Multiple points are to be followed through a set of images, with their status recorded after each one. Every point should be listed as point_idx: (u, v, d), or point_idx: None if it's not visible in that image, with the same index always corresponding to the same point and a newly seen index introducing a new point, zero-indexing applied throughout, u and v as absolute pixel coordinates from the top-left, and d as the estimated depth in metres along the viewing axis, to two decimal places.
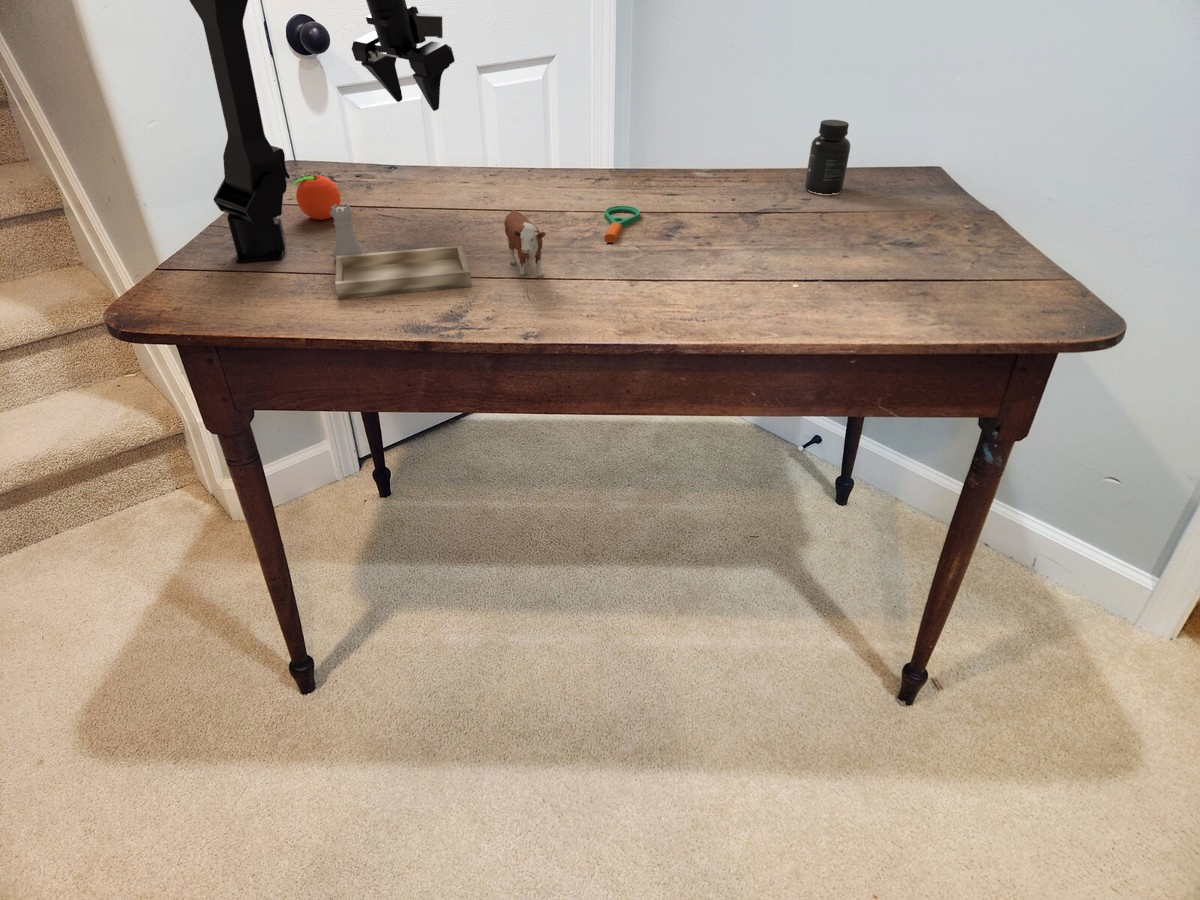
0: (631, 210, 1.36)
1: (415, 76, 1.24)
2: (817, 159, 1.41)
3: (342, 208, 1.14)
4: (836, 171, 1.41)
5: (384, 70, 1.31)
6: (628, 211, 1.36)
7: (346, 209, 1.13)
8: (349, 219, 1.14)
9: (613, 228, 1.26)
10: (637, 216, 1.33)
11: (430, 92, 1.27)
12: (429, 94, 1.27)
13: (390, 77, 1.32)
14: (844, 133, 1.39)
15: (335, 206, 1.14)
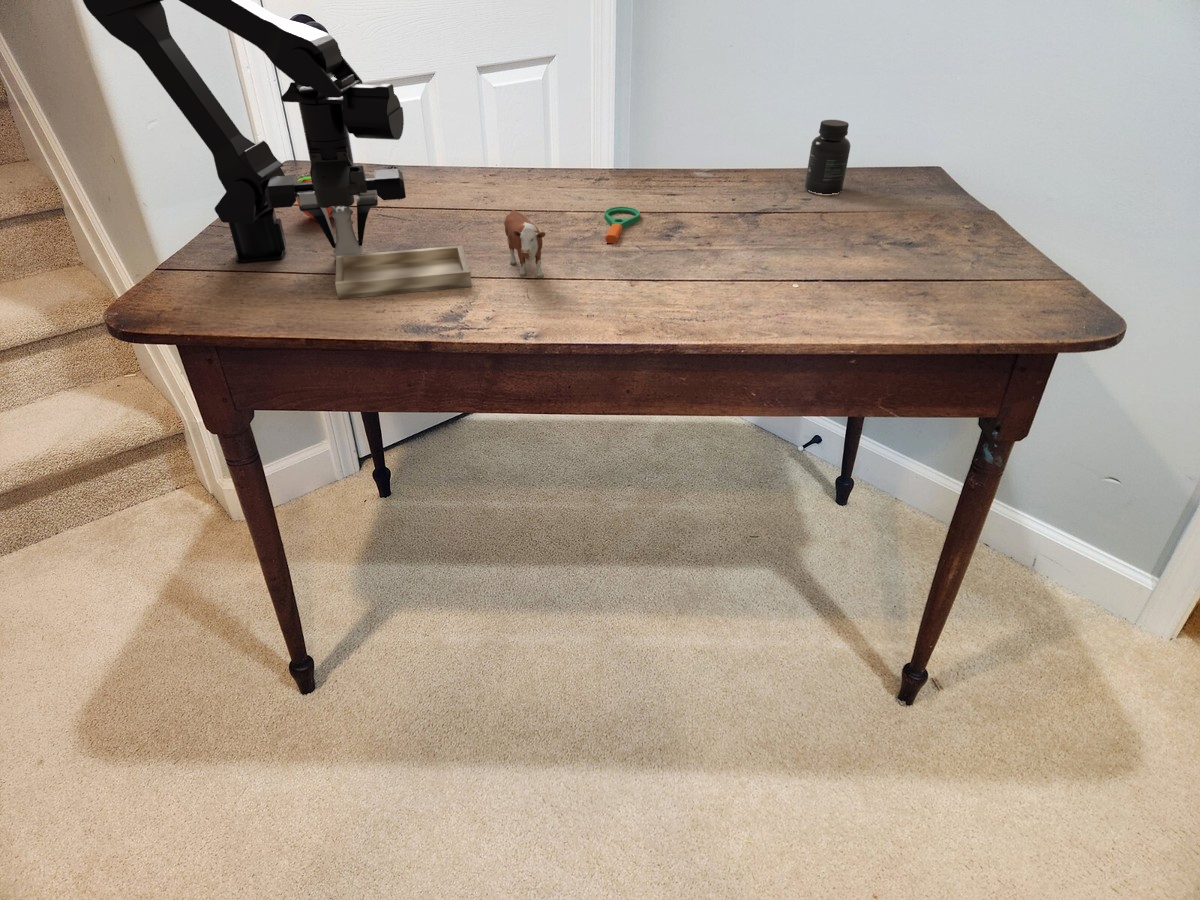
0: (631, 211, 1.35)
1: None
2: (817, 159, 1.41)
3: (342, 208, 1.14)
4: (836, 171, 1.41)
5: None
6: (628, 212, 1.36)
7: (346, 209, 1.13)
8: (349, 219, 1.14)
9: (614, 229, 1.26)
10: (637, 217, 1.32)
11: None
12: None
13: None
14: (844, 133, 1.39)
15: (335, 206, 1.14)
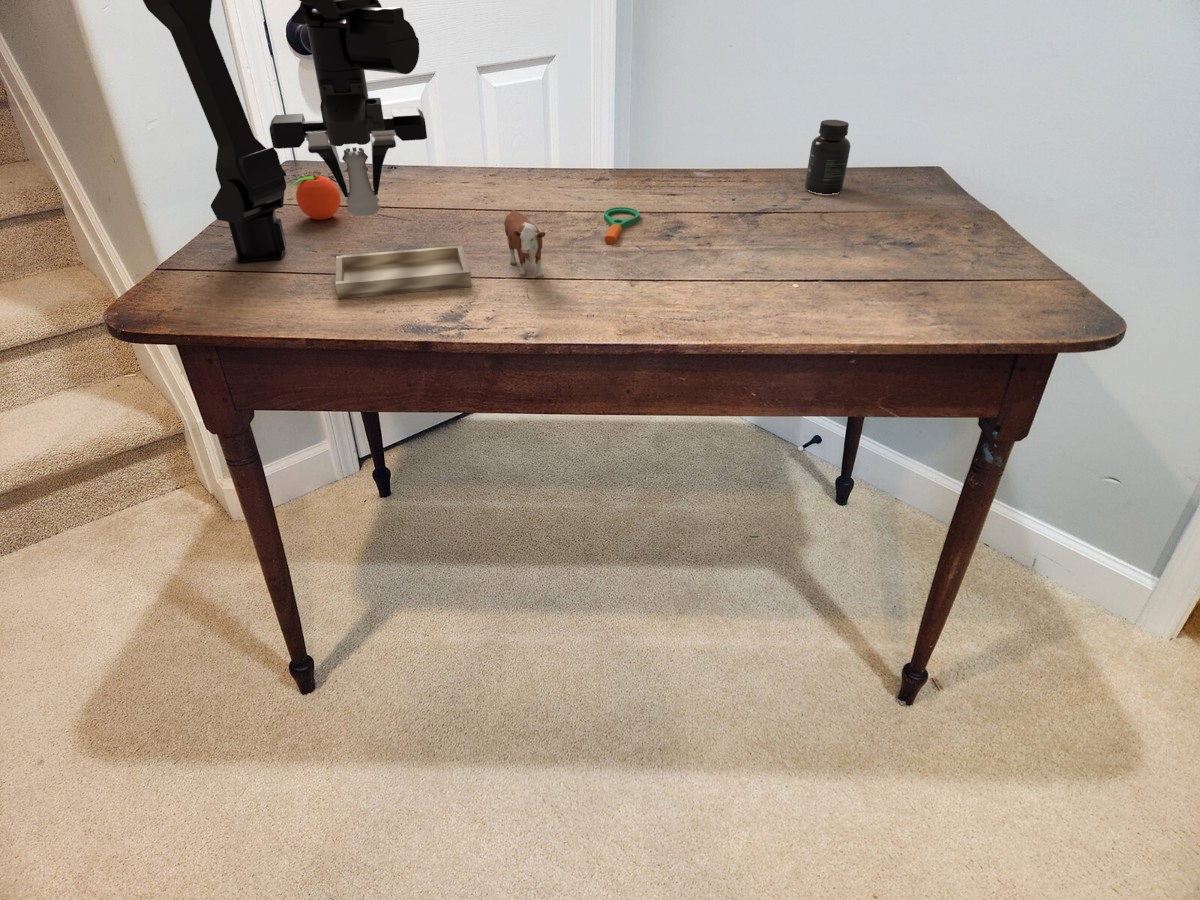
0: (631, 211, 1.35)
1: None
2: (817, 159, 1.41)
3: (356, 152, 1.02)
4: (836, 171, 1.41)
5: None
6: (627, 212, 1.35)
7: (360, 153, 1.01)
8: (364, 165, 1.03)
9: (613, 230, 1.26)
10: (637, 217, 1.32)
11: None
12: None
13: None
14: (844, 133, 1.39)
15: (348, 150, 1.02)
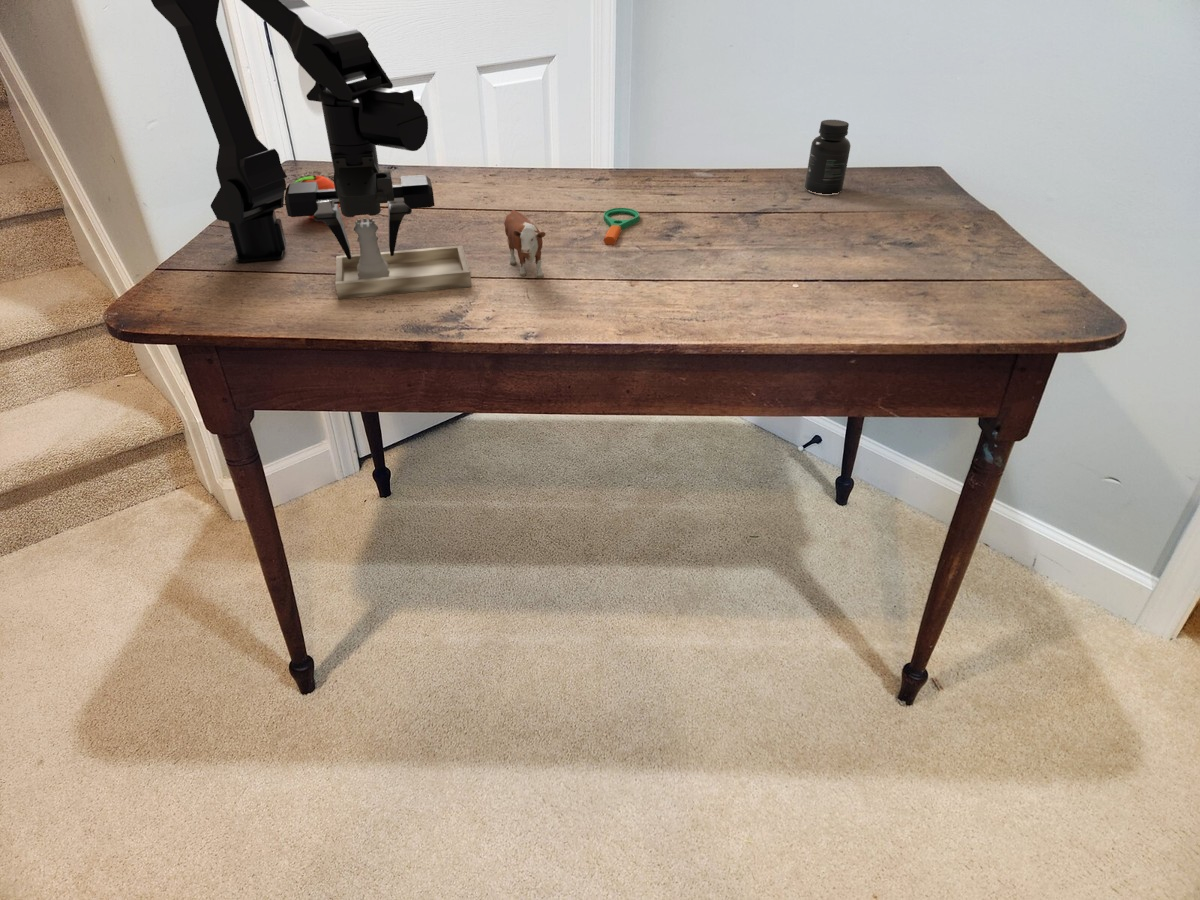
0: (630, 212, 1.35)
1: None
2: (817, 159, 1.41)
3: (367, 223, 1.07)
4: (836, 171, 1.41)
5: None
6: (627, 213, 1.35)
7: (371, 224, 1.07)
8: (374, 235, 1.08)
9: (612, 231, 1.26)
10: (636, 218, 1.32)
11: None
12: None
13: None
14: (844, 133, 1.39)
15: (359, 221, 1.07)
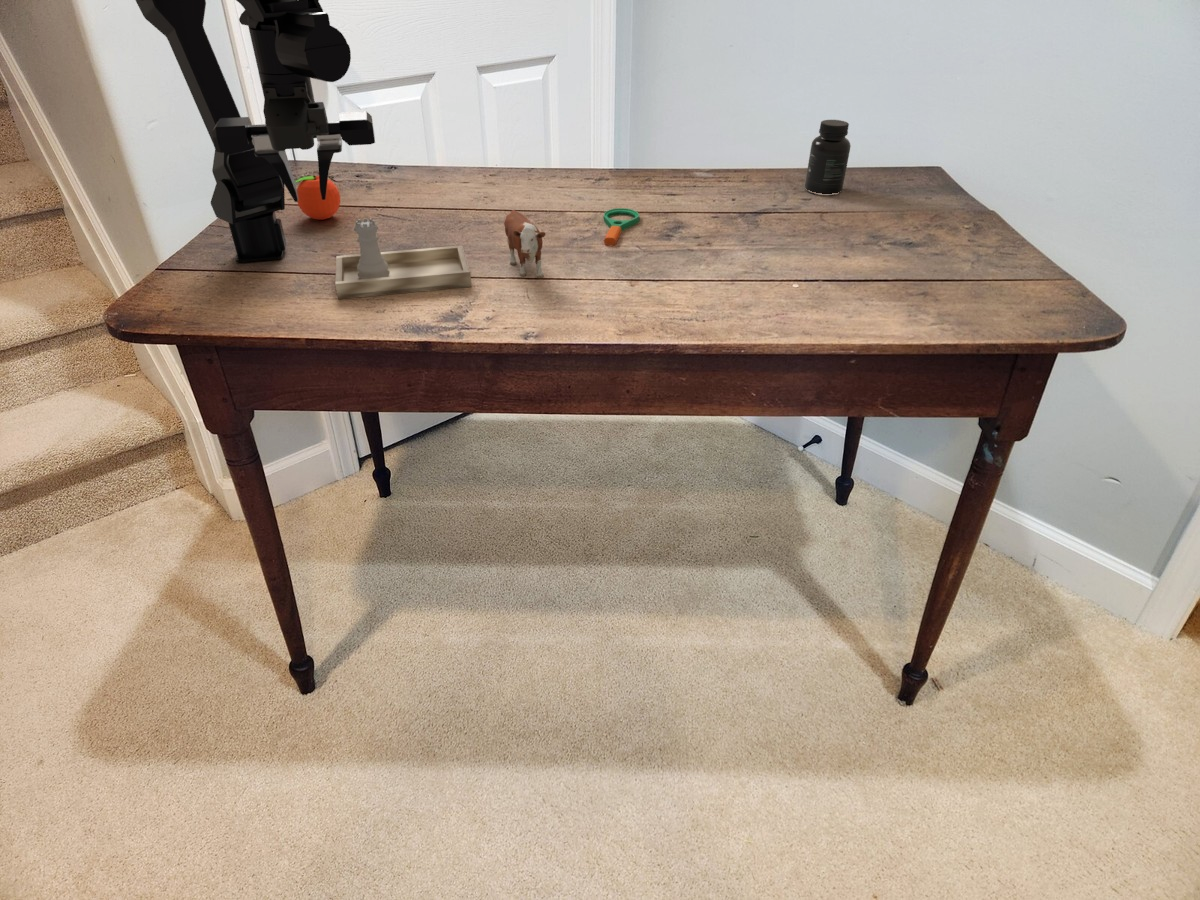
0: (630, 213, 1.34)
1: None
2: (817, 159, 1.41)
3: (367, 223, 1.07)
4: (836, 171, 1.41)
5: None
6: (627, 214, 1.35)
7: (372, 224, 1.07)
8: (374, 235, 1.08)
9: (613, 232, 1.25)
10: (636, 219, 1.32)
11: None
12: None
13: None
14: (844, 133, 1.39)
15: (359, 221, 1.07)
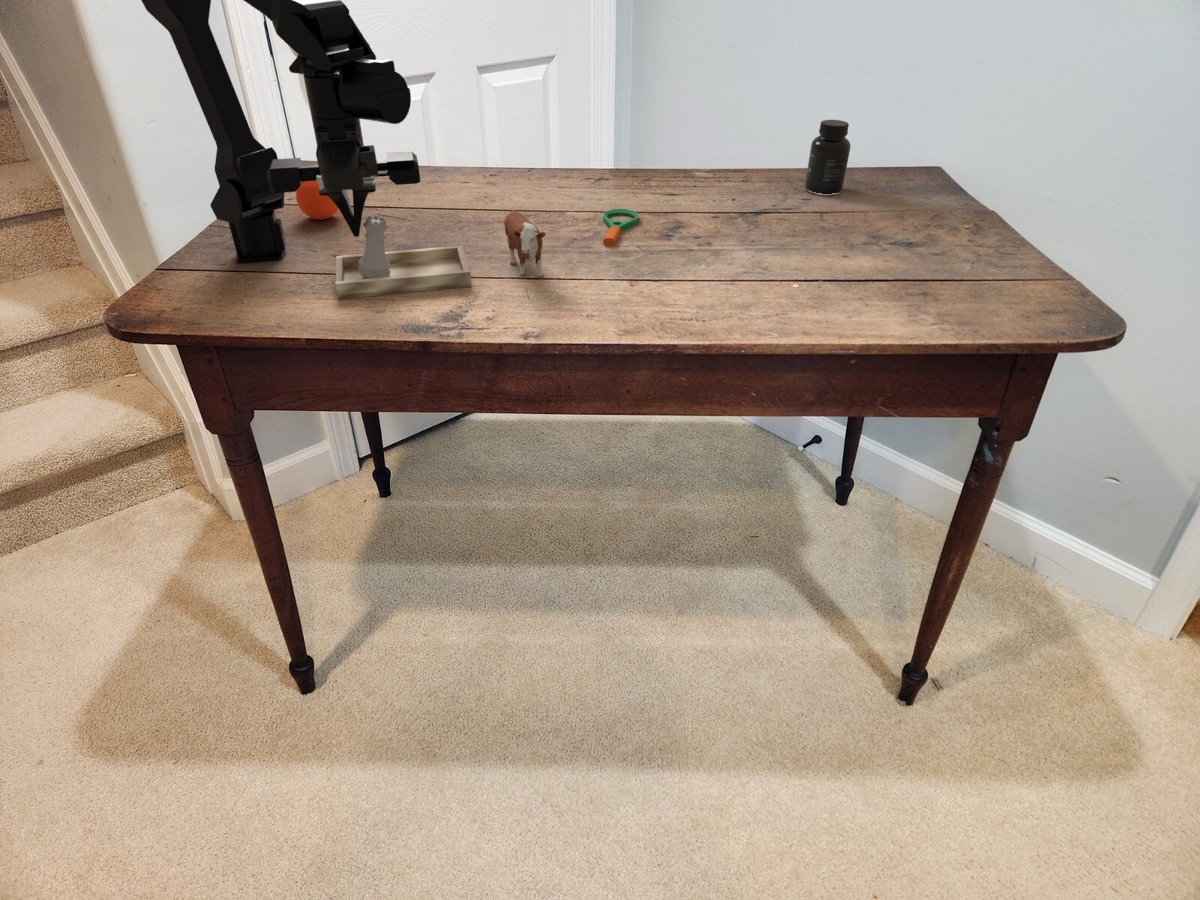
0: (630, 213, 1.34)
1: None
2: (817, 159, 1.41)
3: (377, 221, 1.07)
4: (836, 171, 1.41)
5: None
6: (627, 214, 1.35)
7: (382, 223, 1.07)
8: (383, 233, 1.08)
9: (612, 232, 1.25)
10: (636, 220, 1.31)
11: None
12: None
13: None
14: (844, 133, 1.39)
15: (370, 218, 1.08)
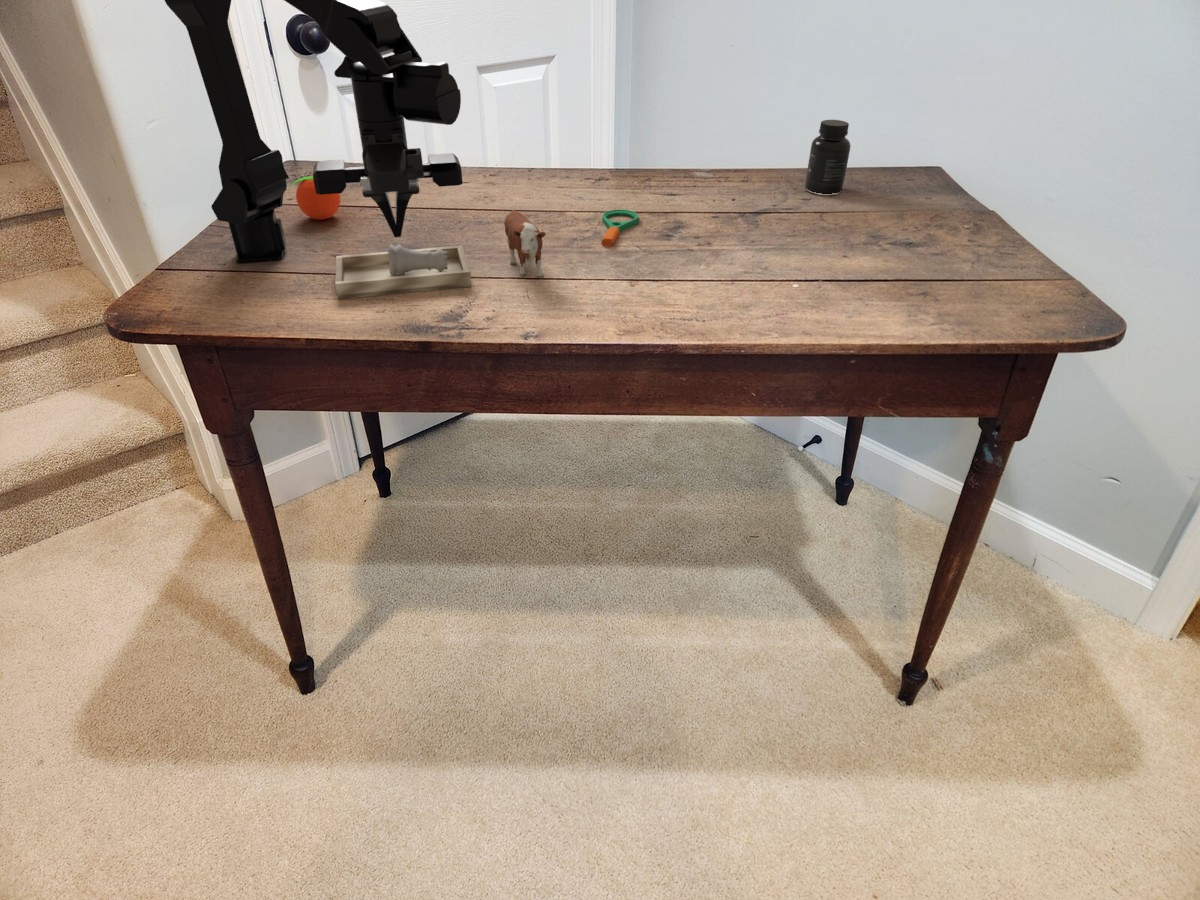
0: (629, 214, 1.34)
1: None
2: (817, 159, 1.41)
3: None
4: (836, 171, 1.41)
5: None
6: (626, 215, 1.34)
7: (445, 268, 1.12)
8: (434, 268, 1.12)
9: (610, 233, 1.25)
10: (635, 220, 1.31)
11: None
12: None
13: None
14: (844, 133, 1.39)
15: (445, 253, 1.13)
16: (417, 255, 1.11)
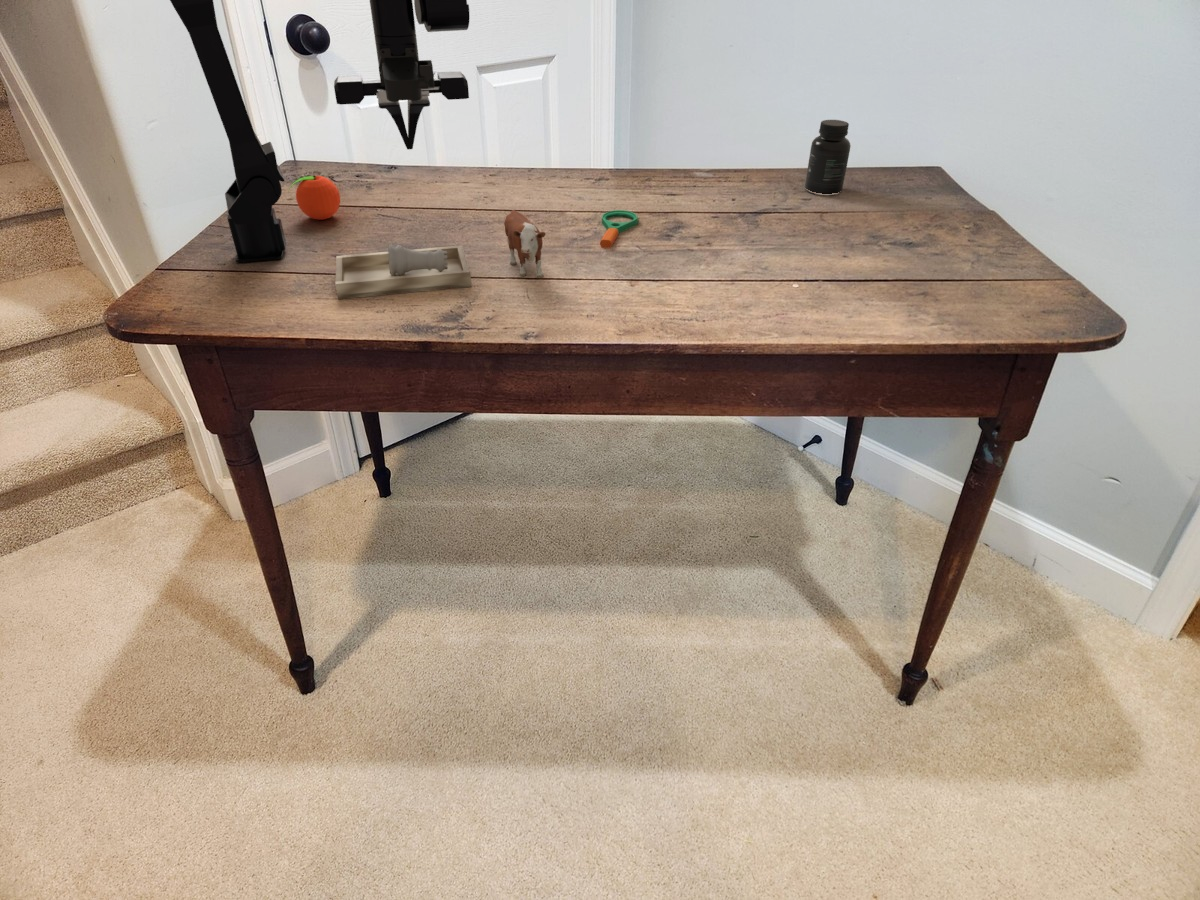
0: (629, 215, 1.34)
1: None
2: (817, 159, 1.41)
3: None
4: (836, 171, 1.41)
5: (408, 109, 1.18)
6: (626, 216, 1.34)
7: (445, 268, 1.12)
8: (434, 268, 1.12)
9: (609, 234, 1.24)
10: (634, 221, 1.31)
11: None
12: None
13: (408, 120, 1.18)
14: (844, 133, 1.39)
15: (445, 253, 1.13)
16: (417, 255, 1.11)
